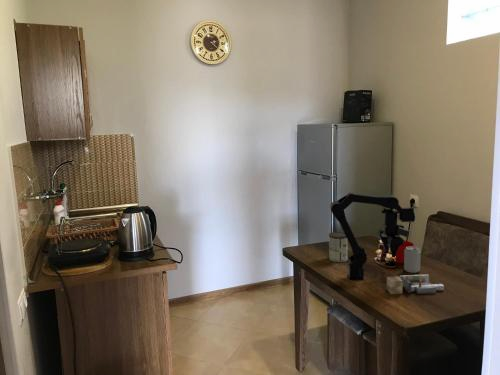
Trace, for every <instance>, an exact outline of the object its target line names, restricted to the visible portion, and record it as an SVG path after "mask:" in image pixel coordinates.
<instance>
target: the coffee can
mask: <svg viewBox="0 0 500 375" xmlns="http://www.w3.org/2000/svg"><path fill="white" fill-rule="evenodd" d="M348 243H349V242H348V239H347V237H346V235H345V233H344V231H333V232H329V233H328V248H329V249H328V256H329V257H328V259H329V260H330V261H331V262H335V263H343V262H347V261H349V257H348V256H349V254H348V253H349V251H348V250H349V246H348V245H349V244H348Z"/></svg>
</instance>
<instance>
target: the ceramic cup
mask: <svg viewBox="0 0 500 375" xmlns="http://www.w3.org/2000/svg"><path fill="white" fill-rule="evenodd" d="M409 246H413V247H415V243H414V242H411V241H409V240H404V244H403V245H402V246H400V247H399V248H398V250H397V253H396V255H395V256H396V262H395V263H397V264H403V263H404V252H405V249H406V247H409ZM403 265H404V264H403Z"/></svg>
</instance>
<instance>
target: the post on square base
mask: <svg viewBox="0 0 500 375" xmlns="http://www.w3.org/2000/svg"><path fill="white" fill-rule="evenodd" d="M430 286H435V287H436V291H444V290H445V286H444V284H443V283H431V284H425V285H422V280H419V285H411V282H410V281H409V280H408V279H404V287H403V289H404V290H405V291H406V292H407V293H409V294H411V293H412V292H416V287H430Z"/></svg>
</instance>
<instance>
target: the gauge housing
mask: <svg viewBox="0 0 500 375" xmlns="http://www.w3.org/2000/svg"><path fill="white" fill-rule="evenodd" d="M399 278H400V279H401V280H402V288H404V279H408V280H409V281H410V282H411V285H419V280H422V285H425V284H432V283H431V282H430V275H429V274H408V275H406V274H405V275H404V274H403V275H399ZM415 292H416V293H417V295H419V294H420V295H421V294H437V290H436V287H435V286H430V287H416V291H415Z"/></svg>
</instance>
